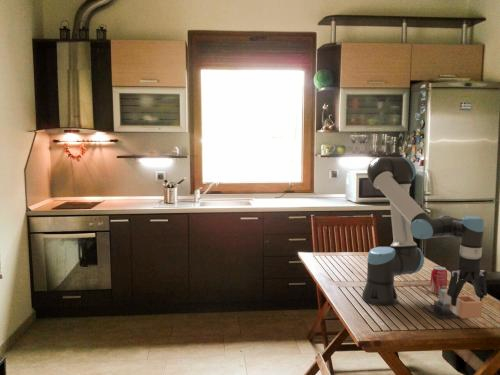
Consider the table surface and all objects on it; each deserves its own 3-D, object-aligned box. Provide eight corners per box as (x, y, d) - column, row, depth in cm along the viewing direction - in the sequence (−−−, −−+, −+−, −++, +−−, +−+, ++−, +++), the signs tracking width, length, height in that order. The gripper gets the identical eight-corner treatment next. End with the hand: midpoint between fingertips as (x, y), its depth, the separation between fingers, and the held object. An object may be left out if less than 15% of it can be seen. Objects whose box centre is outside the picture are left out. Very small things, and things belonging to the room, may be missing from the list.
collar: (462, 318, 167) (463, 303, 166) (449, 309, 175) (450, 295, 174) (481, 317, 168) (482, 302, 167) (468, 309, 176) (469, 294, 175)
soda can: (433, 288, 213) (435, 264, 212) (448, 292, 208) (450, 268, 207) (427, 292, 208) (428, 267, 207) (442, 296, 203) (444, 271, 202)
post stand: (438, 318, 177) (440, 296, 176) (423, 307, 189) (424, 286, 188) (466, 317, 179) (467, 295, 178) (449, 306, 191) (450, 285, 190)
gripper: (450, 260, 163) (446, 318, 166) (501, 258, 166) (496, 316, 169) (439, 254, 170) (435, 310, 173) (488, 253, 173) (483, 308, 176)
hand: (465, 313), depth 171 cm, fingers closed on collar, 8 cm apart
